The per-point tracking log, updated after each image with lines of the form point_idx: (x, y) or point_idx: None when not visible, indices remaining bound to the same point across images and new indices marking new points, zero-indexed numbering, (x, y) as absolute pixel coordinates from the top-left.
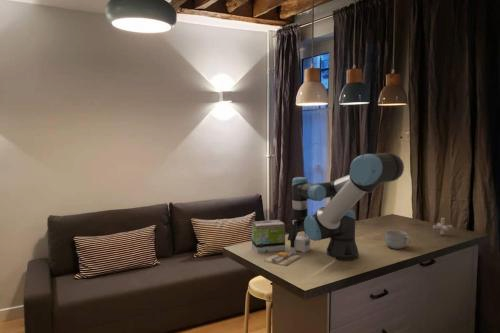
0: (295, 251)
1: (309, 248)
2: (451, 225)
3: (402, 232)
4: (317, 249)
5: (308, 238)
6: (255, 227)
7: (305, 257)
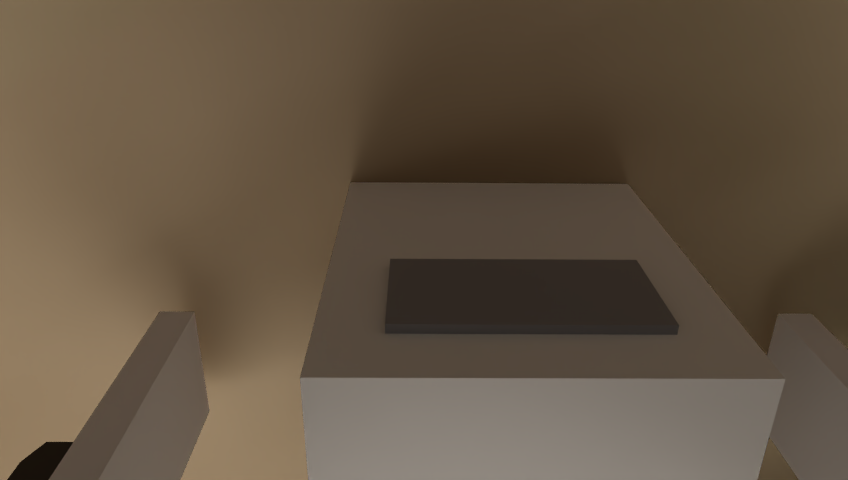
0: (841, 346)
1: (377, 212)
2: None
3: None
4: (116, 100)
5: (410, 389)
6: None
7: (804, 74)
